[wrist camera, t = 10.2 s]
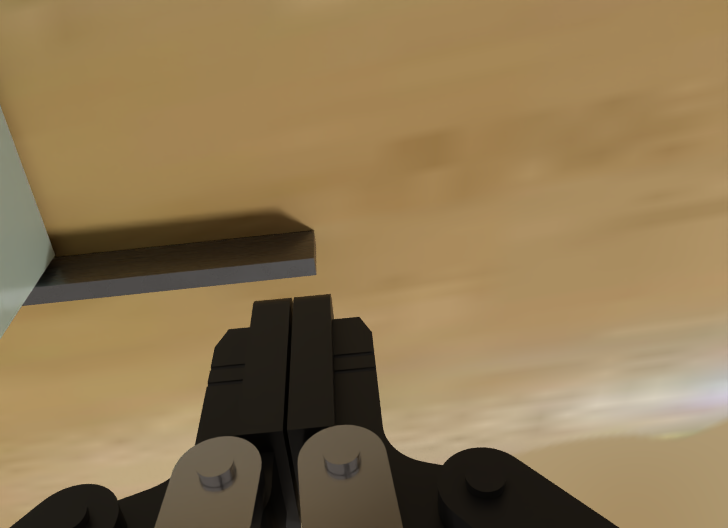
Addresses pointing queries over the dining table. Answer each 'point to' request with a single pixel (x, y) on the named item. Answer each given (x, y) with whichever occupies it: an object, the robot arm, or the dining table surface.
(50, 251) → the crate
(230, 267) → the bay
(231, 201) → the dining table surface
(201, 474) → the robot arm
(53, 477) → the dining table surface
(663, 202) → the dining table surface
